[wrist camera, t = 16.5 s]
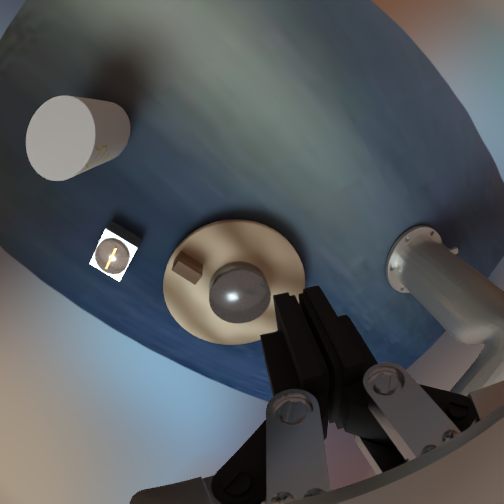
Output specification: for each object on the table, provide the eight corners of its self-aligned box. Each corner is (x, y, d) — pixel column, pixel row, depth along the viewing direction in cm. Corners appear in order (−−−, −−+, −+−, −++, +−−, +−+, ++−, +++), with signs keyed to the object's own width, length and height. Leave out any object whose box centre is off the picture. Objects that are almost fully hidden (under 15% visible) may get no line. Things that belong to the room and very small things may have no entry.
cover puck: (233, 250, 38) (234, 260, 36) (278, 281, 41) (283, 292, 38) (197, 292, 40) (197, 305, 38) (242, 319, 43) (244, 332, 40)
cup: (78, 167, 33) (32, 188, 22) (72, 109, 30) (22, 109, 19) (133, 156, 34) (100, 172, 23) (128, 95, 30) (92, 85, 20)
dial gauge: (112, 220, 37) (103, 230, 34) (142, 239, 39) (136, 250, 35) (96, 254, 39) (87, 266, 35) (124, 271, 40) (118, 284, 37)
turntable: (220, 188, 36) (221, 197, 32) (328, 270, 43) (339, 286, 39) (140, 298, 41) (134, 316, 37) (245, 355, 48) (248, 374, 44)
